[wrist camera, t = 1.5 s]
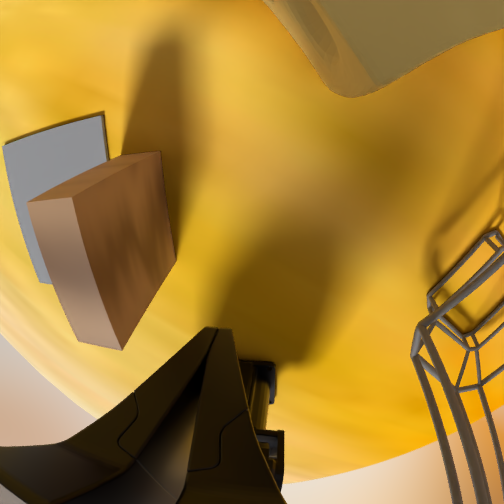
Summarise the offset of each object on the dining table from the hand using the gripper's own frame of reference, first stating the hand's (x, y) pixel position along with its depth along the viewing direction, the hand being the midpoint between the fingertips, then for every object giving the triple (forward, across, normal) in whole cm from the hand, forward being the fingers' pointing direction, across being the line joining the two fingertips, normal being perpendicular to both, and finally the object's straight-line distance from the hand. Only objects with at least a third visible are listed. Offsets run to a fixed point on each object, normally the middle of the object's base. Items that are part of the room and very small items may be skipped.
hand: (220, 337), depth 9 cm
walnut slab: (+11, +8, 0) cm, 13 cm away
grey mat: (+11, +16, 0) cm, 19 cm away
